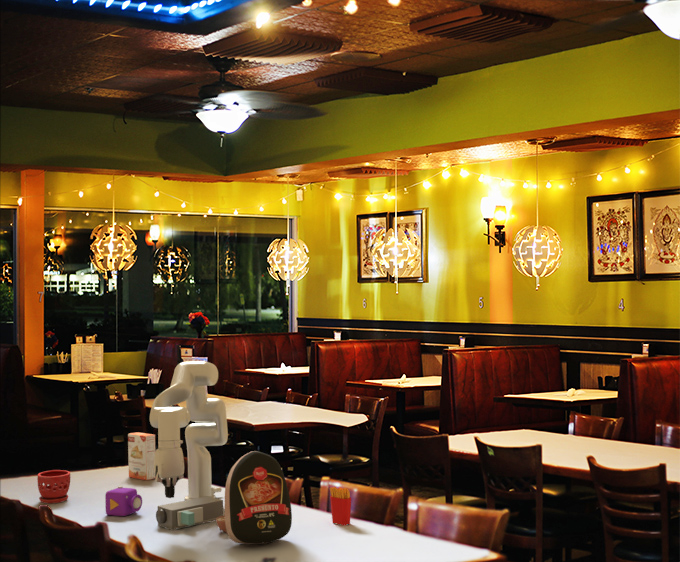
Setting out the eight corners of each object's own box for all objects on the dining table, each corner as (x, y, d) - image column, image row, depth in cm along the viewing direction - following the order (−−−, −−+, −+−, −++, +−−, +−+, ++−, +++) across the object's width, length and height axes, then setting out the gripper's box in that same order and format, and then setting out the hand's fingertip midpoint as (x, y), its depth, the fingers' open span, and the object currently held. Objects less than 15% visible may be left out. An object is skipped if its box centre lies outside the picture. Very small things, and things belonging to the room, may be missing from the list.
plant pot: (30, 504, 354) (30, 474, 355) (52, 497, 367) (52, 469, 367) (56, 506, 349) (55, 476, 350) (77, 499, 362) (77, 470, 362)
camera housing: (208, 514, 329) (208, 496, 329) (224, 519, 321) (223, 500, 321) (154, 526, 313) (153, 506, 313) (168, 531, 305) (168, 511, 305)
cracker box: (127, 477, 407) (127, 433, 407) (138, 475, 411) (137, 431, 412) (145, 480, 397) (145, 435, 398) (156, 478, 402) (155, 434, 403)
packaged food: (234, 554, 274) (233, 460, 275) (218, 539, 292) (216, 451, 293) (298, 545, 283) (296, 454, 284) (279, 531, 301) (277, 446, 302)
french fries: (353, 524, 309) (353, 487, 310) (345, 526, 306) (345, 489, 307) (335, 520, 316) (334, 484, 316) (327, 522, 312) (326, 486, 313)
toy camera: (135, 518, 326) (135, 491, 326) (102, 517, 329) (102, 490, 329) (147, 511, 337) (147, 485, 337) (115, 510, 339) (115, 485, 340)
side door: (201, 520, 314) (201, 506, 314) (210, 523, 310) (210, 509, 310) (177, 525, 308) (177, 511, 308) (186, 528, 303) (186, 514, 303)
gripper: (182, 441, 310) (182, 492, 309) (144, 446, 300) (145, 499, 299) (193, 443, 304) (193, 495, 304) (155, 448, 295) (156, 502, 294)
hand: (169, 497), depth 301 cm, fingers closed
